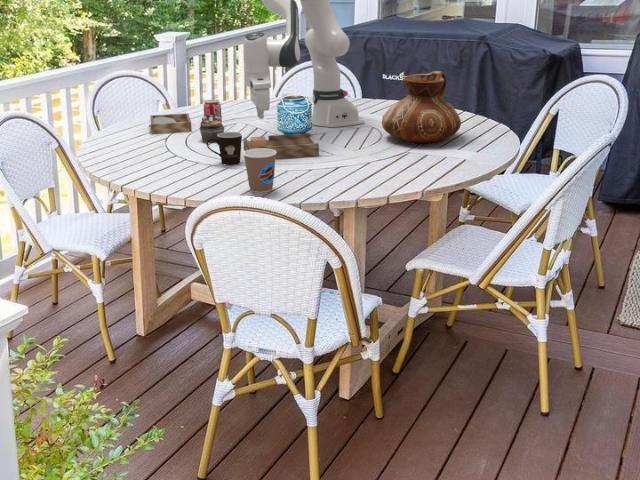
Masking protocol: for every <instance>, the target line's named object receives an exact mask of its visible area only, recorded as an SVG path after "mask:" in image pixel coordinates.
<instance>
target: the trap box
mask: <svg viewBox="0 0 640 480" xmlns="http://www.w3.org/2000/svg"><path fill="white" fill-rule="evenodd" d="M310 135H311V134H310V132H309V133H291V134H277V135H276V134H274V135H268V139H266V145H267V147H251V140H248V139H247V137H243V142H242V143H243V144H242V145H243V150H244V151H247V150H250V149H257V148H266V149H272V150H275V151H276V152H277V153H276V154H275V160H280V159H294V158H295V159H296V158H307V157H308V158H309V157H312V158H313V157H319V156H320V152H319V151H320V144H319V143H318V142H316V143H315V142H314V141H313V140H312V138H311V136H310ZM244 151H243V152H244Z"/></svg>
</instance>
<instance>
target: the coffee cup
mask: <svg viewBox="0 0 640 480" xmlns="http://www.w3.org/2000/svg"><path fill="white" fill-rule="evenodd" d="M276 153H277V152H276V151H275V150H272V149H266V148H257V149H250V150H247V151H243V153H242V154H243V156H244V163H245V168H246V169H245V170H246V175H247V180H248V186H249V191H250V192H252V193H255V194H256V193H258V194H263V192H265V193H269V192H272V191H273V187H274V179H275V169H276V167H275V166H276V165H275V164H276V159H275V154H276ZM268 191H269V192H268Z"/></svg>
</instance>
